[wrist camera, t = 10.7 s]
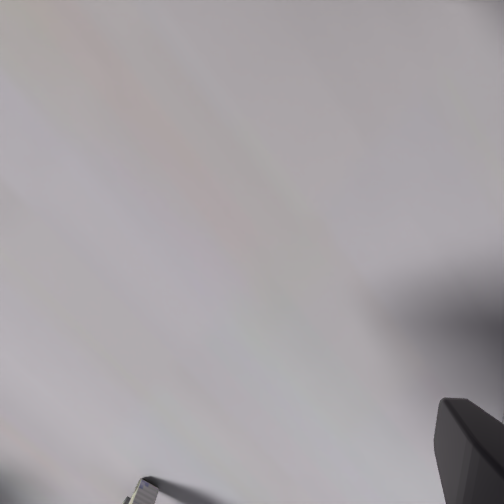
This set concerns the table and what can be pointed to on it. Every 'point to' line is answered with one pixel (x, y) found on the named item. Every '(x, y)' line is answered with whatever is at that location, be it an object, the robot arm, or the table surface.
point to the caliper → (143, 494)
